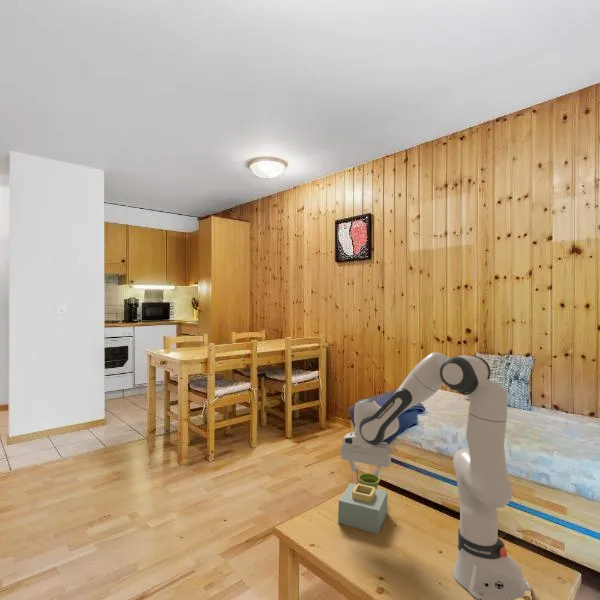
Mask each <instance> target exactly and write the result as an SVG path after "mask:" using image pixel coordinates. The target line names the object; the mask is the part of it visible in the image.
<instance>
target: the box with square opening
mask: <svg viewBox="0 0 600 600" xmlns="http://www.w3.org/2000/svg"><path fill="white" fill-rule="evenodd" d="M388 493H389V491H386V490H383V489H378V488H377V489H375V487H371V486H367V485H362V484H360V483H354V482H353V483H352V482H350V483H349V485H348V486H347V488H346V489H345V490H344V492H343V494H342V495H341V496H340V498H339V499H338V511H337V512H338V516H337V521H338V522H337V523H338V524H341V525H345V526H347V527H351V528H355V529H359V530H362V531H366V532H369V533H372V534H377V535H379V534H380V532H381V529H382V526H383V523H384V521H385V519H386V516H387V513H388Z"/></svg>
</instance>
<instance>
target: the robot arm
mask: <svg viewBox="0 0 600 600" xmlns="http://www.w3.org/2000/svg"><path fill="white" fill-rule="evenodd" d="M491 375H492V370H491V366H490V364H489V363H488V362H487V361H486V360H485V359H484V358H482V357H480V356H476V355H458V356H451V357H448V356H446V355H445V354H444V353H441V352H436V351H435V352H434V351H433V352H430V353H429V354H428V355H427V356H426V357H424V358H423V359H422V360H420V361H419V362H418V363H417V364H416V365H415V366H414V368H413V369H412V370H410V372H409V373H408V375H407V376H406V377H405V378H404V380H403V381H402V383H401V384H400V385H399V387H398V388H397V389H396V390H395V392H394V393H393V394H392V396H391V397H389V399H388V400H387V401H386V402H385V403H384V404H383V405H382V406H381V405H379V404H378V403H377V401H375V400H374V399H372V398H364V399H359V400H358V401H356V402H355V404H354V409H353V422H354V430H353V432H352V431H351V432H348V433H346V434H345V435H344V436H343V438H342V443H341V446H340V453H339V454H340V458H341V459H342V460H344V461H348V463H349V466H350V467H351V472H353V473H354V472H355V473H356V472H357V465H355V464H354V462H355V463H362V464H367V465H373V466H376V467H377V469H375V470H374V475H375V476H378V477H379V475H380V470H381V468H382V467H384V468H385V467H386V468H389V466H390V465H391V463H392V459H391V453H392V447H391V445H390V444H389V443H388V442H386V441H384V440H386V439H388V438H390V437H391V436H393V435H394V434H396V433H397V432H398V431H399V429H400V420H399V418H398V417H399V416H400V415H401V414H402V413H404V412H405V411H407V410H409V409H410V408H411V409H412V408H413V407H416V406H417V405H419V404H421V403H423V402H425V401H427V400H428V399H431V397H432V396H433V395H435V394H436V393H437V392H438V391H439V390H440V389H441V387H442V386H444V385H445V386H446V387H448V388H450V389H452V390H453V391H456V392H458V393H460V394H461V395H462V396H468V398H469V399H468V400H469V406H468V414H467V424H466V430H465V431H466V432H465V436H466V437H465V438H466V442H467V446H468V447H463V448H460V449H459V450H457V452H456V453H455V454H454V456H453V459H452V464H453V468H454V471H455V476H456V485H457V493H458V499H459V507H460V511H459V512H460V513H459V514H460V515H459V518H460V519H459V528H458V532H457V549H458V550H457V557H456V560H455V565H454V566H453V569H452V574H453V577H454V579H455V580H456V581H457V582H458V583H459V584H460V585H461V586H462V587H463V588H464V589H465V590H467V591H468V592H469V593H470V595H471V594H472V595H473V596H472V595H471V596H472V597H473V598H474V597H475V598H474V599H476V600H480V599H481V600H509V599H510V600H515V599H517V598H523V597H524V595H525V591H526V590H527V591H531V590H532V586H531V585H530V583H529V580H527V579H526V578H525V577H524V573H523V571H522V568H521V567H520V564H519V563H518V562H517V561H516V560H515V559H514V558H512V556H510V555H509V554H508V553H507V552H508V551H507V549H506V548H505V547H506V546H505V543H504V539H503V538H502V537H501V538H499V536H498V534H499V532H498V531H499V530H498V529H499V514H498V511H497V509H501V508H503V507H504V508H505V506H507V505H508V504H509V503H510V502H511V500H512V499H513V493H514V492H513V487H512V484H511V482H510V479H509V475H508V470H507V469H508V468H507V460H506V453H505V437H506V428H507V418H508V417H507V416H508V398H507V396H508V395H507V391H506V389H505V387H503V385H501V384H499V383H498V382H495V381H492V380H490V378H491ZM524 581H525V582H526V583H525V582H524ZM530 589H531V590H530Z"/></svg>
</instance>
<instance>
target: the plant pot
mask: <svg viewBox="0 0 600 600" xmlns="http://www.w3.org/2000/svg"><path fill="white" fill-rule="evenodd" d="M358 480H359V484H362V485H367V486H371V487H375V489H378V485H379V483H380V480H381V478H380V477H379V476H375V473H368V472H365V473H361V474H359V475H358Z"/></svg>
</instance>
